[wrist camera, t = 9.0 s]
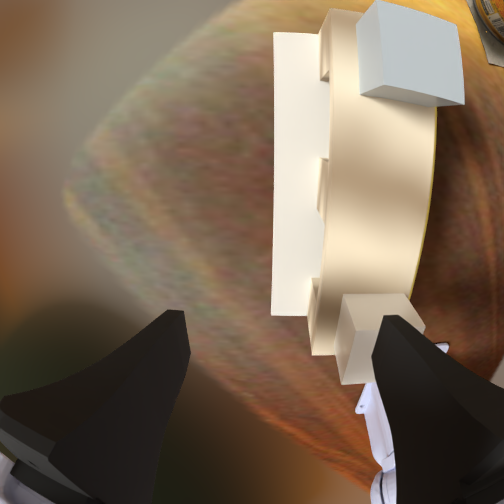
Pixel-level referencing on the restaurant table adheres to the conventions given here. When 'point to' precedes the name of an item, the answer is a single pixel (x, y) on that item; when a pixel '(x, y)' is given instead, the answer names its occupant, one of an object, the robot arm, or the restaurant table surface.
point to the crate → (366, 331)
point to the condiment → (490, 27)
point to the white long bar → (366, 186)
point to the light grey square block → (409, 56)
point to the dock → (301, 170)
